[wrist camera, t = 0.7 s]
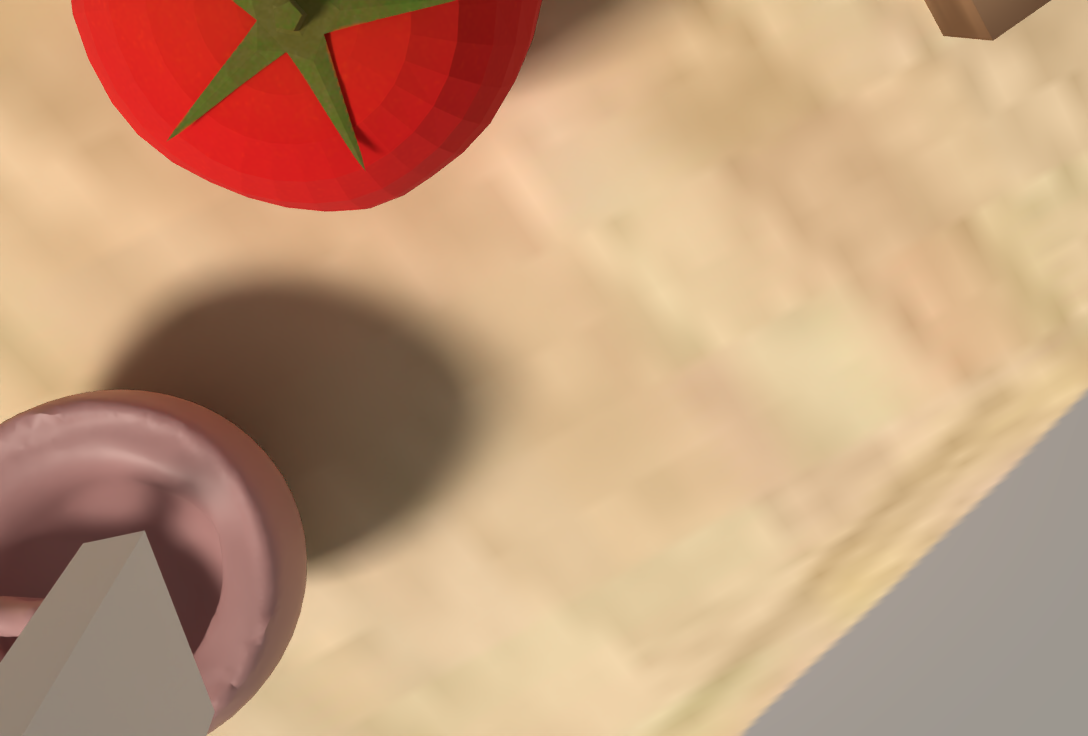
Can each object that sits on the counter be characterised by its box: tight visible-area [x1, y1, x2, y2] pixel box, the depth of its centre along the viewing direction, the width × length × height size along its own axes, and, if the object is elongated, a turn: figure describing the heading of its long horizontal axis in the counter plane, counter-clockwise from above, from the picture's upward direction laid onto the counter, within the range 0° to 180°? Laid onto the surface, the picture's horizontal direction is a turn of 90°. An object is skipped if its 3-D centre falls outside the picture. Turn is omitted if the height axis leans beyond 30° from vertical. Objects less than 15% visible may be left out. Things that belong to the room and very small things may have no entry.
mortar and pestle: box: [0, 389, 307, 734], centre depth 34 cm, size 12×12×12 cm
